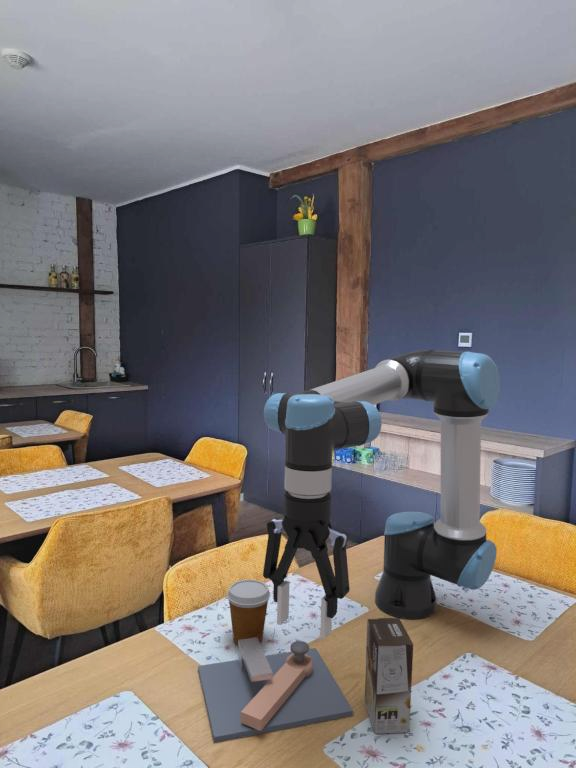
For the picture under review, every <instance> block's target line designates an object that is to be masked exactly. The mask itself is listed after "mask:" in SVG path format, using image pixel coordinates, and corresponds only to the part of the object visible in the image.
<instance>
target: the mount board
mask: <svg viewBox="0 0 576 768" xmlns="http://www.w3.org/2000/svg"><path fill="white" fill-rule="evenodd" d="M291 654H294V653H293V652H292V651H286V652H281V653H280V652H279V653H273V654H267V655H266V654H265V656H266V658H267V661H268V663H269V665H270V668H271V670H272V672H273V676H274V675H275V674H276V673H277V672H278V671H279V670H280V668H281V667H282V666H283V665H284V664H285V663H286V659H287V657H288V656H289V655H291ZM306 654H307V655H309V656H310V657H311V658H313V668H312V673H311V675H310V676H308V677H306V678H304V679H303V680H302V681H301V683H300V684H299V685H298V686H297V688H296V689H295V690H294V691H293V692H292V694H291V695H290V696H289V697H288V698H287V700H286V701H285V702H284V703H283V705H282V706H281V707H280V708H279V709H278V711H277V712H276V713H275V714H274V716H273V717H272V718H271V719H270V720H269V722H268V723H267V724H266V725H265V727H264V728H263V729H262V730H261V731H259V730H257V729H255V728H252V727H250V726H248V725H245V724H243V723H241V711H242V710H243V709H244V708H245V707H246V706H247V705H248V703H249V702H250V701H251V700H252V699H253V698H254V697H255V696H256V695H257V694H258V693H259V691H260V690H261V689H262V688H263V687H264V686H265V685H266V684H267V683H268V682H269V680H270V679H267V680H261V681H255V682H251V680H250V677H249V674H248V671H242V672H241V669H240V666H239V663H238V659H234V660H228V661H221V662H216V663H215V662H213V663H207V664H202V665H198V667H197V672H198V675H199V680H200V685H201V689H202V694H203V698H204V704H205V708H206V712H207V717H208V722H209V727H210V730H211V735H212V739H213V743H214V744H215V743H221V742H225V741H230V740H235V739H241V738H246V737H251V736H255V735H260V734H266V733H271V732H276V731H280V730H282V731H283V730H287V729H292V728H297V727H302V726H307V725H312V724H317V723H323V722H327V721H333V720H338V719H344V718H348V717H353V716H354V710H353V708H352V706H351V705H350V702H349V701H348V699H347V698H346V696H345V695H344V693H343V691H342V690H341V688H340V686H339V685H338V683H337V681H336V679H335V678H334V676H333V674H332V673H331V671H330V669H329V668H328V666H327V664H326V662H325V661H324V659H323V657H322V656H321V655H320V652H319V651H318V649H317V648H316V647H312V648H309V651H308V652H307V653H306Z"/></svg>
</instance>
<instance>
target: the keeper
mask: <svg viewBox="0 0 576 768" xmlns="http://www.w3.org/2000/svg"><path fill="white" fill-rule="evenodd" d="M237 647H238V658H237V660H238V663H239V666H240V669H241V672H242V671H248V674H249V677H250V680H251V682H255V681H261V680H267V679H273V672H272V670H271V668H270V665H269V663H268V661H267V658H266V654H265V652H264V649H263V647H262V643H261V644H260V642H259V640H258V637H255V638H248V639H241V640H238V646H237Z"/></svg>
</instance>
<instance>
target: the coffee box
mask: <svg viewBox="0 0 576 768" xmlns="http://www.w3.org/2000/svg"><path fill="white" fill-rule="evenodd" d="M366 621H367V622H366V626H367V627H366V643H365V644H366V645H365V646H366V649H365V650H366V651H365V652H366V653H365V679H364V680H365V681H364V702H365V703H364V704H365V707H366V710H367V712H368V713H367V714H368V716H369V719H370V723H371V725H372V729H373V732H374V734H377V735H378V734H401V733H402V734H403V733H409V732H410V723H411V722H410V721H411V720H410V719H411V700H412V699H411V698H412V677H413V676H412V675H413V659H414V658H413V657H414V655H413V654H414V643H413V641H412V639H411V637H410V635H409V634H408V632H407V630H406V628H405V626H404V625H403V623H402V621H401V619H400V617H378V618H368V619H367V620H366Z"/></svg>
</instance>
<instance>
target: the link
mask: <svg viewBox="0 0 576 768" xmlns="http://www.w3.org/2000/svg"><path fill="white" fill-rule="evenodd" d="M309 649H310V647H309V644H308V643H307V642H305V641H303V640H302V641H301V640H297V641H294V642H292V643H291V644H290V652H293V653H294V654H291V655H289V656H288V657H287V659H286V663H285V664H284V665H283V666H282V667H281V668H280V670H279V671H278V672H277V673H276V674H275V675H274V676H273V679H270V680H269V682H268V683H267V684H266V685H265V686H264V687H263V688H262V689H261V690H260V691H259V693H258V694H257V695H256V696H255V697H254V698H253V699H252V700H251V701H250V702H249V703H248V705H247V706H246V707H245V708H244V709H243V710H242V711H241V723H243V724H245V725H248V726H250V727H252V728H255V729H257V730H259V731H261V730H262V729H263V728H264V727H265V725H266V724H267V723H268V722H269V720H270V719H271V718H272V717H273V716H274V714H275V713H276V712H277V711H278V709H279V708H280V707H281V706H282V705H283V703H284V702H285V701H286V700H287V698H288V697H289V696H290V695H291V694H292V692H293V691H294V690H295V689H296V688H297V686H298V685H299V684H300V683H301V681H302V680H303V679H304V678H306V677H308V676H310V675H311V673H312V668H313V658H311V657H310V656H309V655H307V654H306V653H307V652H308V651H309Z"/></svg>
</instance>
